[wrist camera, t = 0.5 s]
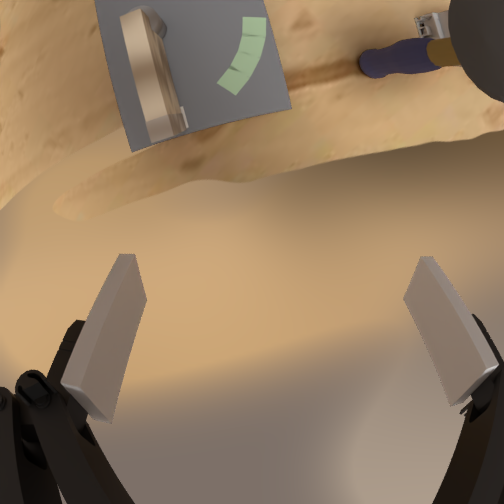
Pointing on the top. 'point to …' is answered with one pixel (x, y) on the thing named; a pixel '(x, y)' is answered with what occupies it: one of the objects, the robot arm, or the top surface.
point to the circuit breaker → (433, 25)
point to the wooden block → (152, 72)
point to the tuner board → (200, 62)
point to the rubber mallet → (452, 48)
